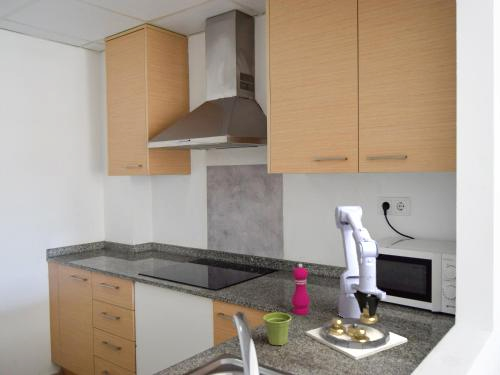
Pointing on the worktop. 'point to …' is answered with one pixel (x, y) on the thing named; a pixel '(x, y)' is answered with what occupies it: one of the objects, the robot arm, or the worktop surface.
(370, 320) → the gear
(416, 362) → the worktop surface
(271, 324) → the plant pot
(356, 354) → the board
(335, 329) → the sun and planets
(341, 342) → the ring gear
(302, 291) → the pepper mill
